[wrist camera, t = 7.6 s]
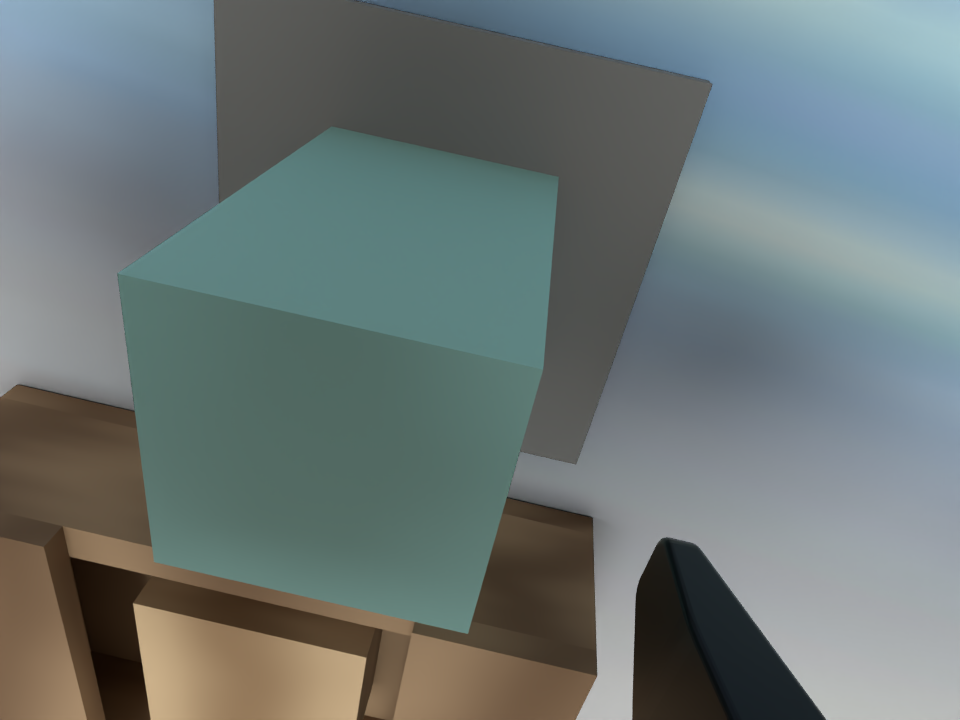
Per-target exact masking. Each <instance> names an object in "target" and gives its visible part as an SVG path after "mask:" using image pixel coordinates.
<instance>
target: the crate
mask: <svg viewBox="0 0 960 720" xmlns="http://www.w3.org/2000/svg"><path fill="white" fill-rule="evenodd" d="M596 677H597V653H596V618H595V584H594V549H593V518H591V517H586V516H582V515H578V514H573V513H569V512H565V511H560V510H556V509H552V508H547V507H543V506H539V505H535V504H530V503H526V502H522V501H517V500H513V499H509V498H506V502H505V505H504V509H503V512H502V516H501V519H500V523H499V527H498V530H497V534H496V537H495V541H494V544H493V548H492V551H491V555H490V558H489V562H488V565H487V569H486V572H485V576H484V579H483V583H482V586H481V590H480V593H479V597H478V600H477V604H476V607H475V611H474V614H473V618H472V621H471V625H470V628H469V632H468V634H466V633H461V632H457V631H453V630H448V629H444V628H439V627H435V626H431V625H426V624H422V623H418V622H413V621H409V620H405V619H400V618H396V617H391V616H387V615H383V614H378V613H374V612H370V611H365V610H361V609H357V608H352V607H348V606H343V605H339V604H335V603H330V602H326V601H322V600H317V599H313V598H309V597H304V596H300V595H296V594H291V593H287V592H282V591H278V590H274V589H269V588H265V587H261V586H256V585H252V584H248V583H243V582H239V581H234V580H230V579H226V578H221V577H217V576H213V575H208V574H204V573H200V572H195V571H191V570H186V569H182V568H178V567H173V566H169V565H165V564H160V563H156V562H154V558H153V550H152V542H151V534H150V526H149V519H148V511H147V503H146V495H145V487H144V479H143V471H142V464H141V456H140V448H139V440H138V432H137V424H136V416H135V412H133V411H129V410H125V409H120V408H116V407H112V406H107V405H103V404H99V403H94V402H90V401H86V400H81V399H77V398H73V397H68V396H64V395H60V394H55V393H51V392H47V391H43V390H38V389H34V388H30V387H25V386H21V385H16V386H15V387H13V388H12V389H11V390H10V391H8V392H7V393H6V394H4V395H3V396H2V397H0V720H575V719H576V717H577V715H578V713H579V711H580V709H581V707H582V705H583V703H584V701H585V699H586V697H587V695H588V693H589V691H590V689H591V687H592V685H593V683H594V681H595V679H596Z"/></svg>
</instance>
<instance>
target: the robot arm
mask: <svg viewBox="0 0 960 720" xmlns="http://www.w3.org/2000/svg"><path fill="white" fill-rule="evenodd" d="M632 720H826V719H825V717H824V716H823V715H822V713H821V712H820V710H819V709H818V708H817V706H816V705H815V704H814V702H813V701H812V700H811V698H810V697H809V696H808V694H807V693H806V691H805V690H804V689H803V687H802V686H801V685H800V683H799V682H798V681H797V679H796V678H795V677H794V675H793V674H792V672H791V671H790V670H789V668H788V667H787V666H786V664H785V663H784V662H783V660H782V659H781V658H780V656H779V655H778V654H777V652H776V651H775V649H774V648H773V647H772V645H771V644H770V643H769V641H768V640H767V639H766V637H765V636H764V635H763V633H762V632H761V630H760V629H759V628H758V626H757V625H756V624H755V622H754V621H753V620H752V618H751V617H750V616H749V614H748V613H747V611H746V610H745V609H744V607H743V606H742V605H741V603H740V602H739V601H738V599H737V598H736V597H735V595H734V594H733V593H732V591H731V590H730V588H729V587H728V586H727V584H726V583H725V582H724V580H723V579H722V578H721V576H720V575H719V574H718V572H717V571H716V569H715V568H714V567H713V565H712V564H711V563H710V561H709V560H708V559H707V557H706V556H705V555H704V553H703V552H702V550H701V549H700V548H699V547H698V546H697V545H695V544H693V543H690V542H686V541H682V540H677V539H673V538H668V537H667V538H662V539H661V540H660V541H659V542H658V544H657V545H656V547H655V549H654V551H653V553H652V555H651V558H650V560H649V562H648V564H647V566H646V568H645V570H644V572H643V574H642V576H641V578H640V580H639V583H638V587H637V593H636V608H635V641H634V674H633V718H632Z"/></svg>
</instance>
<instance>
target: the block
mask: <svg viewBox="0 0 960 720" xmlns="http://www.w3.org/2000/svg"><path fill="white" fill-rule="evenodd" d="M558 180H559V177H557V176H552V175H548V174H543V173H539V172H535V171H530V170H526V169H521V168H517V167H512V166H508V165H503V164H499V163H494V162H490V161H485V160H481V159H476V158H472V157H467V156H463V155H458V154H454V153H449V152H445V151H440V150H436V149H431V148H427V147H422V146H418V145H413V144H409V143H404V142H400V141H395V140H391V139H386V138H382V137H377V136H373V135H368V134H364V133H359V132H355V131H350V130H346V129H341V128H337V127H330V128H329V129H327V130H326V131H324V132H323V133H321V134H320V135H318V136H317V137H316V138H314V139H313V140H311V141H310V142H308V143H307V144H305V145H304V146H302V147H301V148H299V149H298V150H297V151H295V152H294V153H292V154H291V155H289V156H288V157H286V158H285V159H283V160H282V161H281V162H279V163H278V164H276V165H275V166H273V167H272V168H270V169H269V170H267V171H266V172H265V173H263V174H262V175H260V176H259V177H257V178H256V179H254V180H253V181H251V182H250V183H248V184H247V185H246V186H244V187H243V188H241V189H240V190H238V191H237V192H235V193H234V194H232V195H231V196H230V197H228V198H227V199H225V200H224V201H222V202H221V203H219V204H218V205H216V206H215V207H214V208H212V209H211V210H209V211H208V212H206V213H205V214H203V215H202V216H200V217H199V218H198V219H196V220H195V221H193V222H192V223H190V224H189V225H187V226H186V227H184V228H183V229H181V230H180V231H179V232H177V233H176V234H174V235H173V236H171V237H170V238H168V239H167V240H165V241H164V242H163V243H161V244H160V245H158V246H157V247H155V248H154V249H152V250H151V251H149V252H148V253H147V254H145V255H144V256H142V257H141V258H139V259H138V260H136V261H135V262H133V263H132V264H130V265H129V266H128V267H126V268H125V269H123V270H122V271H120V272H119V273H117V275H118V283H119V291H120V299H121V306H122V314H123V322H124V330H125V338H126V346H127V354H128V361H129V369H130V377H131V385H132V393H133V401H134V409H135V416H136V424H137V432H138V440H139V448H140V456H141V464H142V471H143V479H144V487H145V495H146V503H147V511H148V519H149V526H150V534H151V542H152V550H153V558H154V562H156V563H160V564H165V565H169V566H173V567H178V568H182V569H186V570H191V571H195V572H200V573H204V574H208V575H213V576H217V577H221V578H226V579H230V580H234V581H239V582H243V583H248V584H252V585H256V586H261V587H265V588H269V589H274V590H278V591H282V592H287V593H291V594H296V595H300V596H304V597H309V598H313V599H317V600H322V601H326V602H330V603H335V604H339V605H343V606H348V607H352V608H357V609H361V610H365V611H370V612H374V613H378V614H383V615H387V616H391V617H396V618H400V619H405V620H409V621H413V622H418V623H422V624H426V625H431V626H435V627H439V628H444V629H448V630H453V631H457V632H461V633H466V634H468V632H469V628H470V625H471V621H472V618H473V614H474V611H475V607H476V604H477V600H478V597H479V593H480V590H481V586H482V583H483V579H484V576H485V572H486V569H487V565H488V562H489V558H490V555H491V551H492V548H493V544H494V541H495V537H496V534H497V530H498V527H499V523H500V519H501V516H502V512H503V509H504V505H505V502H506V498H507V495H508V491H509V488H510V484H511V481H512V477H513V474H514V470H515V467H516V463H517V460H518V456H519V453H520V449H521V446H522V442H523V439H524V435H525V432H526V428H527V425H528V421H529V418H530V414H531V411H532V407H533V404H534V400H535V397H536V393H537V390H538V386H539V382H540V379H541V375H542V372H543V366H544V353H545V341H546V329H547V316H548V304H549V291H550V279H551V267H552V254H553V242H554V229H555V217H556V205H557V192H558Z"/></svg>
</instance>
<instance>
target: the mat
mask: <svg viewBox="0 0 960 720" xmlns="http://www.w3.org/2000/svg"><path fill="white" fill-rule="evenodd" d="M214 29H215V66H216V103H217V141H218V178H219V203H221V202H222V201H224V200H225V199H227V198H228V197H230V196H231V195H232V194H234V193H235V192H237V191H238V190H240V189H241V188H243V187H244V186H246V185H247V184H248V183H250V182H251V181H253V180H254V179H256V178H257V177H259V176H260V175H262V174H263V173H265V172H266V171H267V170H269V169H270V168H272V167H273V166H275V165H276V164H278V163H279V162H281V161H282V160H283V159H285V158H286V157H288V156H289V155H291V154H292V153H294V152H295V151H297V150H298V149H299V148H301V147H302V146H304V145H305V144H307V143H308V142H310V141H311V140H313V139H314V138H316V137H317V136H318V135H320V134H321V133H323V132H324V131H326V130H327V129H329V128H330V127H337V128H341V129H346V130H350V131H355V132H359V133H364V134H368V135H373V136H377V137H382V138H386V139H391V140H395V141H400V142H404V143H409V144H413V145H418V146H422V147H427V148H431V149H436V150H440V151H445V152H449V153H454V154H458V155H463V156H467V157H472V158H476V159H481V160H485V161H490V162H494V163H499V164H503V165H508V166H512V167H517V168H521V169H526V170H530V171H535V172H539V173H543V174H548V175H552V176H557V177H559V180H558V192H557V205H556V217H555V229H554V242H553V254H552V267H551V279H550V291H549V304H548V316H547V329H546V341H545V353H544V366H543V372H542V375H541V379H540V382H539V386H538V390H537V393H536V397H535V400H534V404H533V407H532V411H531V414H530V418H529V421H528V425H527V428H526V432H525V435H524V439H523V442H522V446H521V449H520V452H524V453H529V454H533V455H537V456H542V457H546V458H550V459H555V460H559V461H563V462H568V463H572V464H576V463H577V461H578V458H579V455H580V452H581V449H582V447H583V444H584V441H585V438H586V436H587V433H588V430H589V427H590V424H591V422H592V419H593V416H594V413H595V410H596V408H597V405H598V402H599V399H600V397H601V394H602V391H603V388H604V385H605V383H606V380H607V377H608V374H609V371H610V369H611V366H612V363H613V360H614V358H615V355H616V352H617V349H618V346H619V344H620V341H621V338H622V335H623V332H624V330H625V327H626V324H627V321H628V318H629V316H630V313H631V310H632V307H633V305H634V302H635V299H636V296H637V293H638V291H639V288H640V285H641V282H642V279H643V277H644V274H645V271H646V268H647V266H648V263H649V260H650V257H651V254H652V252H653V249H654V246H655V243H656V240H657V238H658V235H659V232H660V229H661V227H662V224H663V221H664V218H665V215H666V213H667V210H668V207H669V204H670V201H671V199H672V196H673V193H674V190H675V187H676V185H677V182H678V179H679V176H680V174H681V171H682V168H683V165H684V162H685V160H686V157H687V154H688V151H689V148H690V146H691V143H692V140H693V137H694V135H695V132H696V129H697V126H698V123H699V121H700V118H701V115H702V112H703V109H704V107H705V104H706V101H707V98H708V96H709V93H710V90H711V87H712V83H711V82H709V81H708V80H703V79H699V78H694V77H690V76H686V75H681V74H677V73H672V72H668V71H664V70H659V69H655V68H650V67H646V66H642V65H637V64H633V63H628V62H624V61H620V60H615V59H611V58H606V57H602V56H598V55H593V54H589V53H585V52H580V51H576V50H571V49H567V48H563V47H558V46H554V45H549V44H545V43H541V42H536V41H532V40H527V39H523V38H519V37H514V36H510V35H505V34H501V33H497V32H492V31H488V30H483V29H479V28H475V27H470V26H466V25H461V24H457V23H453V22H448V21H444V20H440V19H435V18H431V17H426V16H422V15H418V14H413V13H409V12H404V11H400V10H396V9H391V8H387V7H382V6H378V5H374V4H369V3H365V2H360V1H356V0H214Z"/></svg>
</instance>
